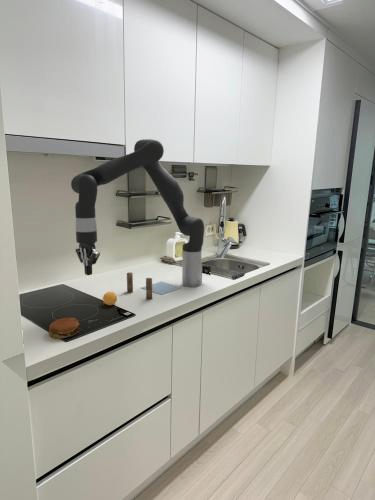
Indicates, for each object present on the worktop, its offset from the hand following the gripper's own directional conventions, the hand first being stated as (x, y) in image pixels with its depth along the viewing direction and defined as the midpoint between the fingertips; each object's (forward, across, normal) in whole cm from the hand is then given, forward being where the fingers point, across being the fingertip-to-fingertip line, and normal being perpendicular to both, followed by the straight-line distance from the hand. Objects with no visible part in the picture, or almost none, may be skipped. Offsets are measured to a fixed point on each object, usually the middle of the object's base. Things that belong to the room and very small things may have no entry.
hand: (88, 274), depth 131 cm
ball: (+12, 0, -10) cm, 15 cm away
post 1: (+15, +6, -26) cm, 30 cm away
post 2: (+15, -6, -26) cm, 30 cm away
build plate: (+16, +1, -76) cm, 78 cm away
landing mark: (+15, 0, -40) cm, 42 cm away
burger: (+15, -10, +17) cm, 25 cm away
